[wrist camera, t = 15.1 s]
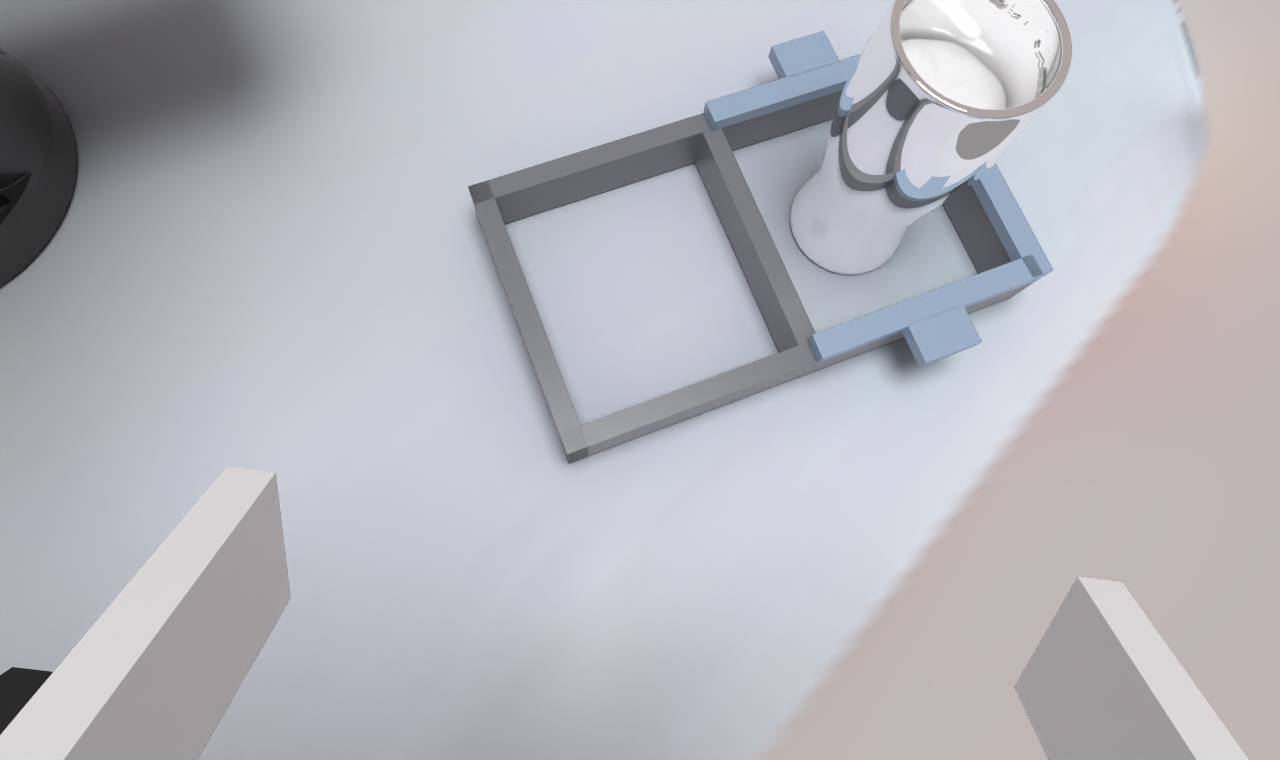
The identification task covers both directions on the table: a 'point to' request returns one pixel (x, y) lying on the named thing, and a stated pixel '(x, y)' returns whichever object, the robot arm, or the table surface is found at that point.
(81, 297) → the table surface
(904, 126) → the drinking glass
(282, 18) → the table surface
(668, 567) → the table surface
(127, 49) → the table surface
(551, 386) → the open frame
